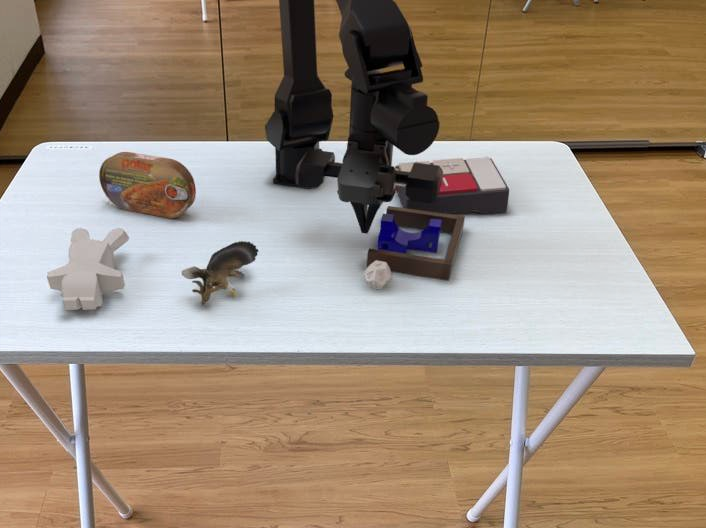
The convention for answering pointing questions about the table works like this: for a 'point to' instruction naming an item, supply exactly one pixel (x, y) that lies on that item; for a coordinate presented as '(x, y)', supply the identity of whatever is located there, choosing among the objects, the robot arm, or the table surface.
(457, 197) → the calculator
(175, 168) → the tin
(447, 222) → the square wooden border
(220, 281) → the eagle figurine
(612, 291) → the table surface
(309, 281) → the table surface
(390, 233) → the cable holder
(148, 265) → the table surface
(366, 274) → the game die
